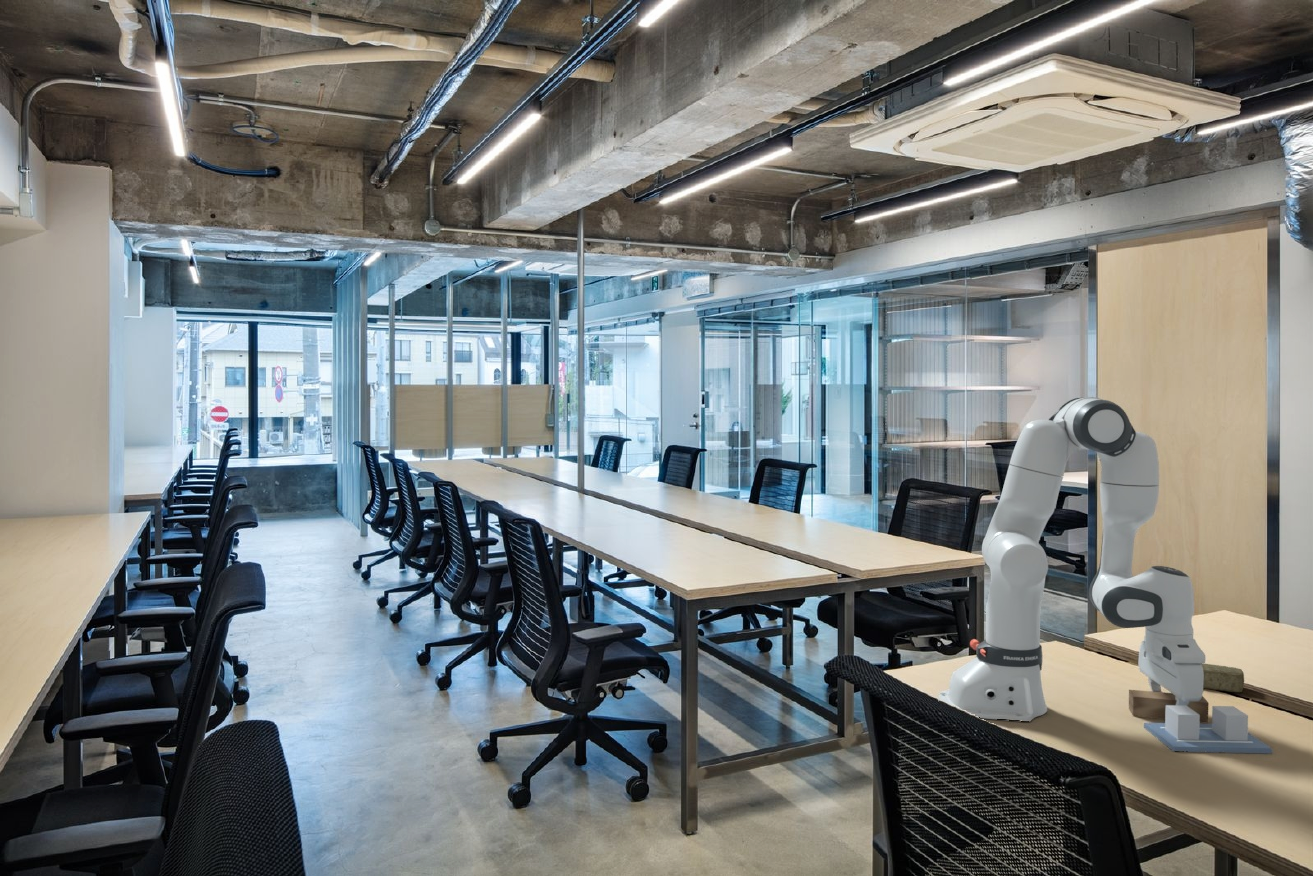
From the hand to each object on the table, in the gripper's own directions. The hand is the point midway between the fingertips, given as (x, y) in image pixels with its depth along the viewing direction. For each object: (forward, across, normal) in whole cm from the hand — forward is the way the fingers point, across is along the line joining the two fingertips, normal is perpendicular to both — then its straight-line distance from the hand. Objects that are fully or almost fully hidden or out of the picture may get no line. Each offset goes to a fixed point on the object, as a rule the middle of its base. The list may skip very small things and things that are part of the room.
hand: (1167, 707), depth 187 cm
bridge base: (+2, +13, +1) cm, 13 cm away
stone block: (+2, -19, +19) cm, 27 cm away
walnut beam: (+2, 0, 0) cm, 2 cm away
